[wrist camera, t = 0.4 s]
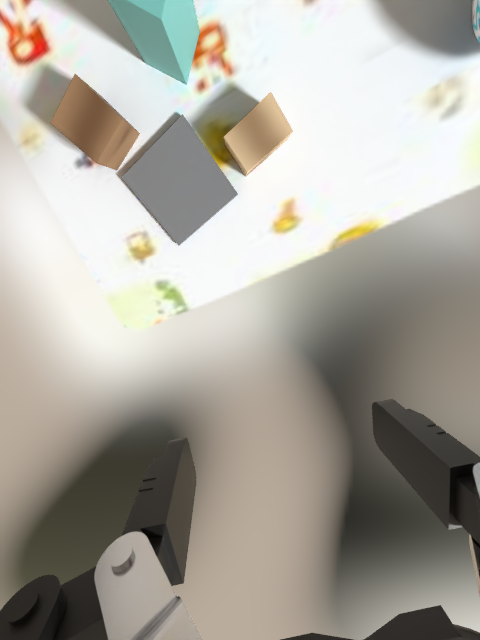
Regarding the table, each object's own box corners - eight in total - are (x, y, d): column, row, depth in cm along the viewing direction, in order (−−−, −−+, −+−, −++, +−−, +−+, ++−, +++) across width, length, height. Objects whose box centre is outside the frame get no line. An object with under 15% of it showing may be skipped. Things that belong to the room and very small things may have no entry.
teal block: (145, 63, 26) (98, -16, 17) (156, 8, 25) (110, -112, 16) (186, 84, 27) (161, 19, 18) (199, 32, 26) (179, -69, 16)
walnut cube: (79, 136, 29) (50, 122, 24) (101, 96, 28) (75, 73, 23) (117, 170, 30) (96, 163, 26) (140, 133, 29) (122, 119, 24)
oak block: (245, 176, 31) (247, 171, 27) (225, 146, 30) (223, 136, 26) (285, 141, 29) (292, 130, 26) (266, 107, 28) (270, 91, 24)
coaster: (124, 178, 31) (121, 177, 30) (183, 116, 28) (182, 114, 28) (180, 244, 34) (178, 245, 33) (237, 194, 31) (237, 194, 31)
